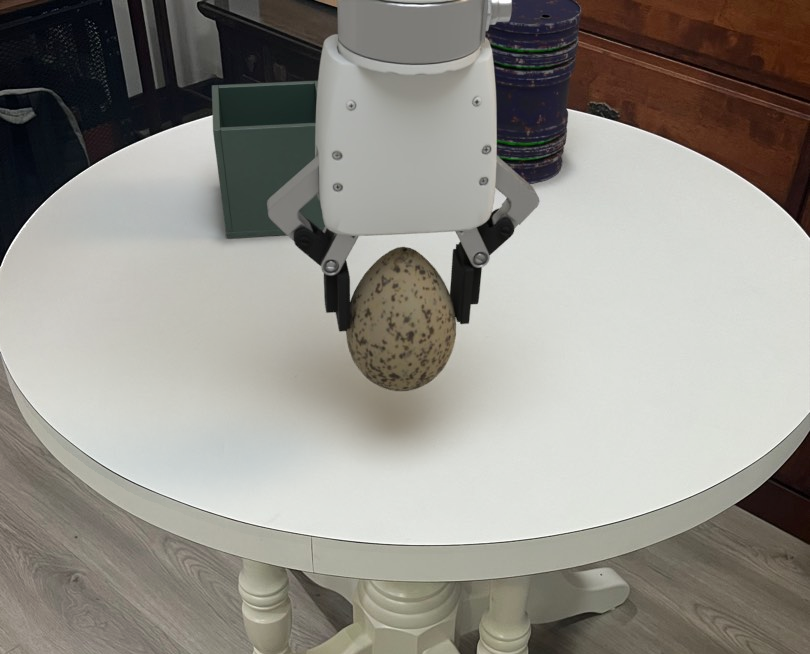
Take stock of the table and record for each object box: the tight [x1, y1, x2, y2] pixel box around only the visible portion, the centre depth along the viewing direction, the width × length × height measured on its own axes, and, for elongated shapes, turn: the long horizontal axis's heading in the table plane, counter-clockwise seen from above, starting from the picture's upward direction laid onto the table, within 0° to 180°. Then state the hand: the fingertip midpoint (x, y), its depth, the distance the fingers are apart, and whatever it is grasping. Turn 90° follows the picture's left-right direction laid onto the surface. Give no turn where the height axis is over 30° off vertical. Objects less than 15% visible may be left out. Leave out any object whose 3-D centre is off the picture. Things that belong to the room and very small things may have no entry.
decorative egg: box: [345, 246, 457, 392], centre depth 64 cm, size 7×7×10 cm
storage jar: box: [485, 0, 582, 184], centre depth 98 cm, size 10×10×15 cm
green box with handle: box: [211, 80, 325, 239], centre depth 92 cm, size 10×10×15 cm
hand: (401, 314), depth 64 cm, fingers closed on decorative egg, 7 cm apart
